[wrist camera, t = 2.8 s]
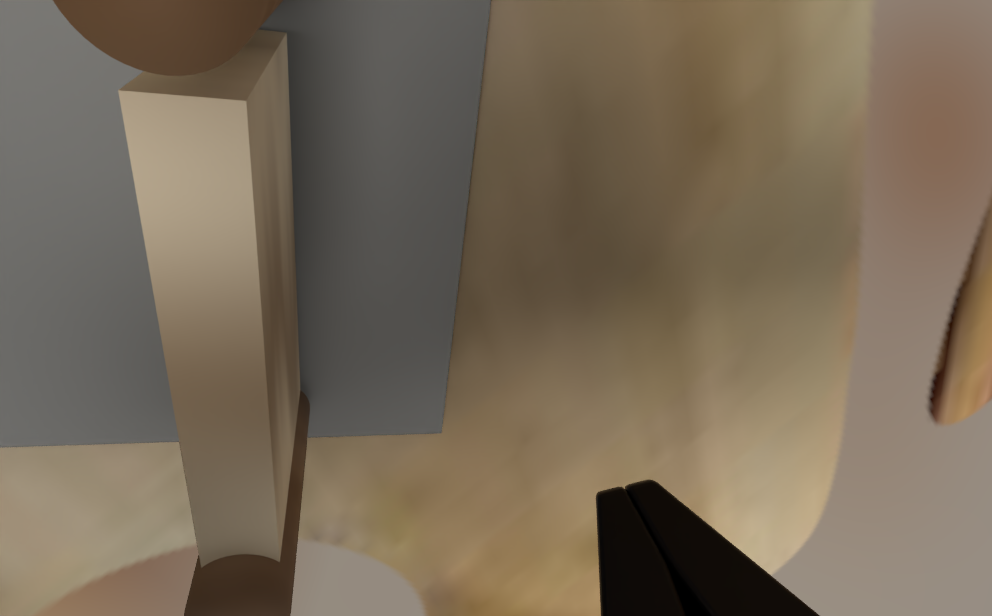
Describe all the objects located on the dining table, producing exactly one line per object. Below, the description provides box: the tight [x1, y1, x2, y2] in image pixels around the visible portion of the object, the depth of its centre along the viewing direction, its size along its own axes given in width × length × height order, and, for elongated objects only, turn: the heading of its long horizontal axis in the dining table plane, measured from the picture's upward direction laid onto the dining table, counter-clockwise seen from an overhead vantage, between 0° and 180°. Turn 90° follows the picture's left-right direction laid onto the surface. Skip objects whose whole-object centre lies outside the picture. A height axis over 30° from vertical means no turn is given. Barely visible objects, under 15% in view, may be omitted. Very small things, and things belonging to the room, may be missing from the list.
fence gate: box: [118, 29, 310, 616], centre depth 10 cm, size 9×2×5 cm, turn 172°
